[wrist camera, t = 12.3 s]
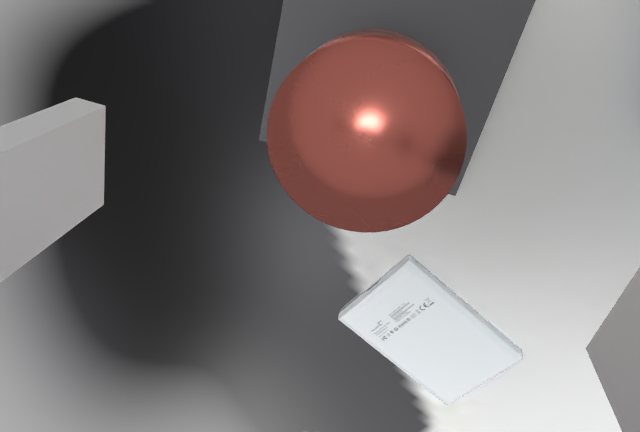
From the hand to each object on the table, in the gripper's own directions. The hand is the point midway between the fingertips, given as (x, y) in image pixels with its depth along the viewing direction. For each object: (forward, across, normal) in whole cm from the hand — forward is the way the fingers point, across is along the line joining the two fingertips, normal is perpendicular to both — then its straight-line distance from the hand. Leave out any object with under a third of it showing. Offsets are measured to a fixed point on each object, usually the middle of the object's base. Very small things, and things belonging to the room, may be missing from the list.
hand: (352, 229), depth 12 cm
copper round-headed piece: (+21, 0, 0) cm, 21 cm away
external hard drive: (+23, -9, +19) cm, 31 cm away
